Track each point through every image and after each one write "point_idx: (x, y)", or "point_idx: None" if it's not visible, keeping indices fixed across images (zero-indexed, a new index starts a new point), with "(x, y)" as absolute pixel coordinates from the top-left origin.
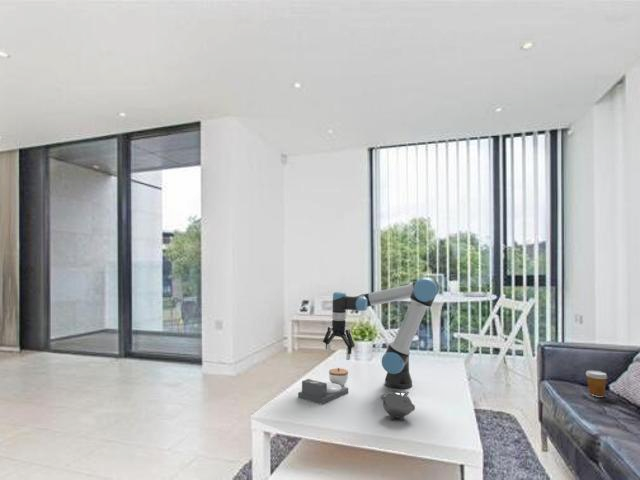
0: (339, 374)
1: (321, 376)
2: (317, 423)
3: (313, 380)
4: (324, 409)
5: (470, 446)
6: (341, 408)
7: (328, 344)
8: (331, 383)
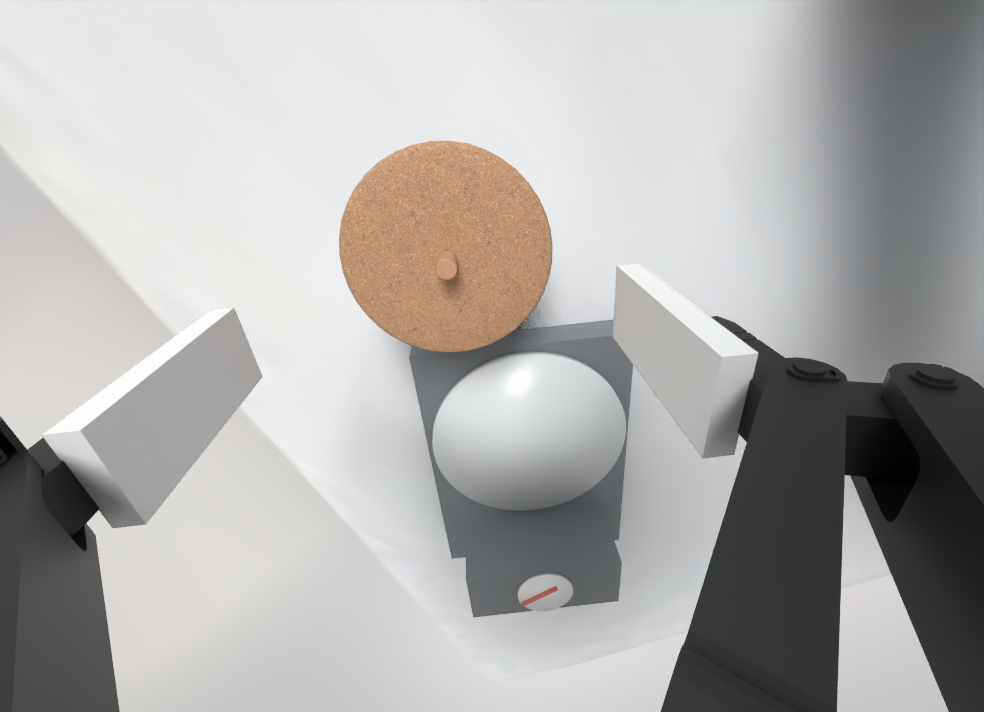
0: (519, 322)
1: (140, 139)
2: None
3: (524, 586)
4: (648, 543)
5: None
6: (708, 496)
7: (133, 504)
8: (500, 376)
